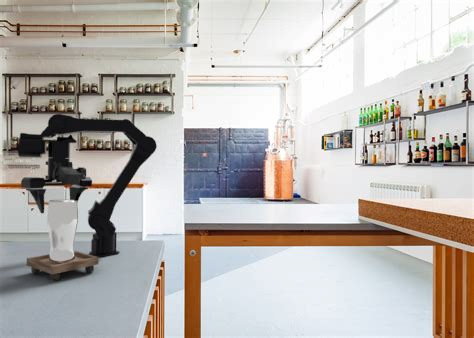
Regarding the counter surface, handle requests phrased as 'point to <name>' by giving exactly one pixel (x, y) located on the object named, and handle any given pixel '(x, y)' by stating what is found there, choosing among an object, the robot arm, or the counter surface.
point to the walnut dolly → (62, 264)
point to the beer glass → (62, 229)
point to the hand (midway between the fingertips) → (57, 211)
